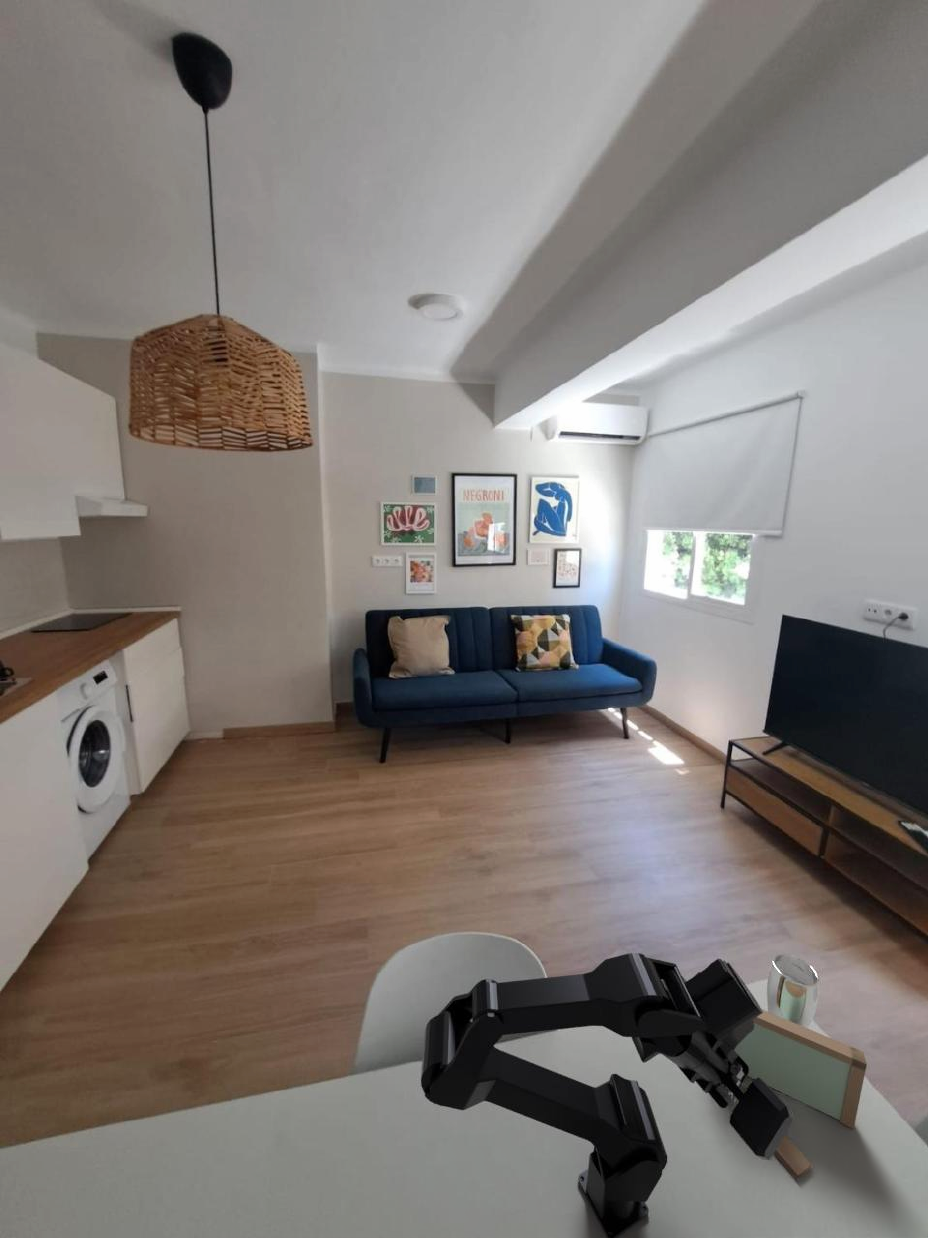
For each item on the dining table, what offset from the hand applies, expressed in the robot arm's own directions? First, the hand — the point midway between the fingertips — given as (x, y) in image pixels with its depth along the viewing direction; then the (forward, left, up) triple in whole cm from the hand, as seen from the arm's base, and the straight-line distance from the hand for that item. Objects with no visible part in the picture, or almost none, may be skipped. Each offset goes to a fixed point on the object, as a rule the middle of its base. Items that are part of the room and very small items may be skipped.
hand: (732, 1077), depth 67 cm
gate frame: (+10, +3, -12) cm, 16 cm away
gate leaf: (+17, +1, -12) cm, 20 cm away
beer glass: (+23, +6, -12) cm, 27 cm away
